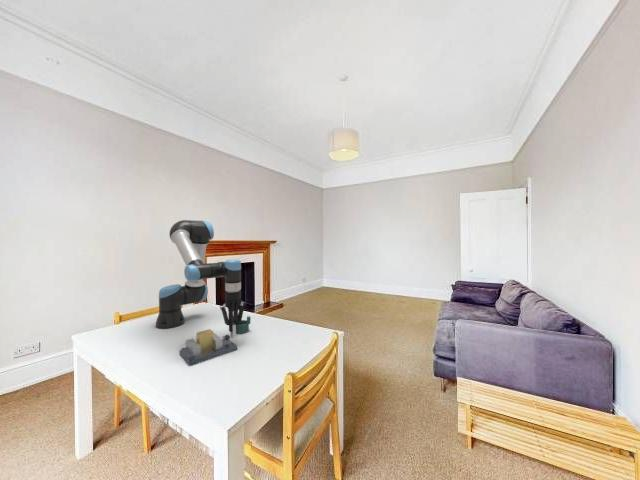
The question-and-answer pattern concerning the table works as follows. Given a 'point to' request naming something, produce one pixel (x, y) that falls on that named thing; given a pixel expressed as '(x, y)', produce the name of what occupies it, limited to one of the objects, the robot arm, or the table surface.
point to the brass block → (205, 339)
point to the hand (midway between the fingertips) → (233, 337)
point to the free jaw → (219, 341)
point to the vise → (195, 355)
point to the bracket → (243, 326)
